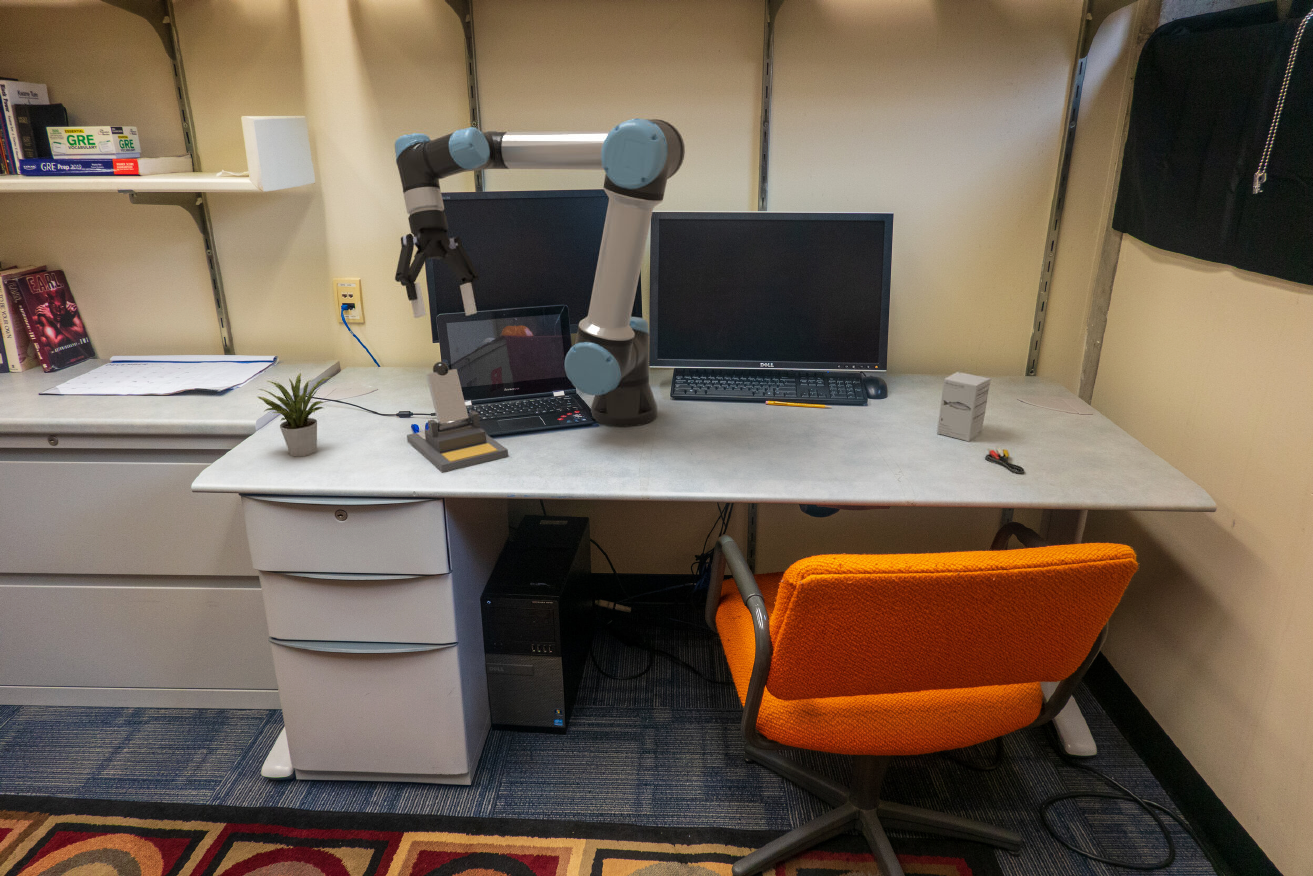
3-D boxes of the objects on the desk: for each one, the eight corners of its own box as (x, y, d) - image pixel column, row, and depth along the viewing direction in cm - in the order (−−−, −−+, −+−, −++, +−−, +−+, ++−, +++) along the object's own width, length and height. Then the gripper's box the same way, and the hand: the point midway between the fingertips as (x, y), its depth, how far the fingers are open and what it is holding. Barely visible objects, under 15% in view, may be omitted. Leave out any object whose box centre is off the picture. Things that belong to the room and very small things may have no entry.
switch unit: (407, 441, 174) (403, 410, 172) (469, 428, 182) (466, 398, 179) (442, 472, 159) (438, 438, 156) (508, 456, 166) (505, 424, 164)
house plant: (327, 432, 180) (315, 360, 174) (356, 448, 170) (344, 373, 165) (260, 449, 170) (245, 374, 164) (287, 468, 161) (272, 389, 155)
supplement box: (935, 434, 177) (942, 378, 172) (950, 425, 182) (957, 370, 177) (968, 442, 172) (977, 385, 167) (983, 433, 177) (991, 377, 172)
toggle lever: (436, 433, 168) (420, 366, 167) (469, 426, 171) (452, 360, 171) (441, 431, 165) (424, 363, 165) (474, 424, 169) (457, 357, 168)
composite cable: (1027, 475, 157) (1029, 463, 156) (1002, 476, 156) (1004, 464, 155) (1003, 456, 166) (1004, 444, 165) (980, 457, 166) (981, 445, 165)
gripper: (460, 221, 181) (479, 316, 182) (363, 214, 161) (385, 321, 162) (483, 212, 176) (502, 309, 178) (386, 203, 156) (408, 313, 158)
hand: (446, 315), depth 170 cm, fingers open, 13 cm apart
